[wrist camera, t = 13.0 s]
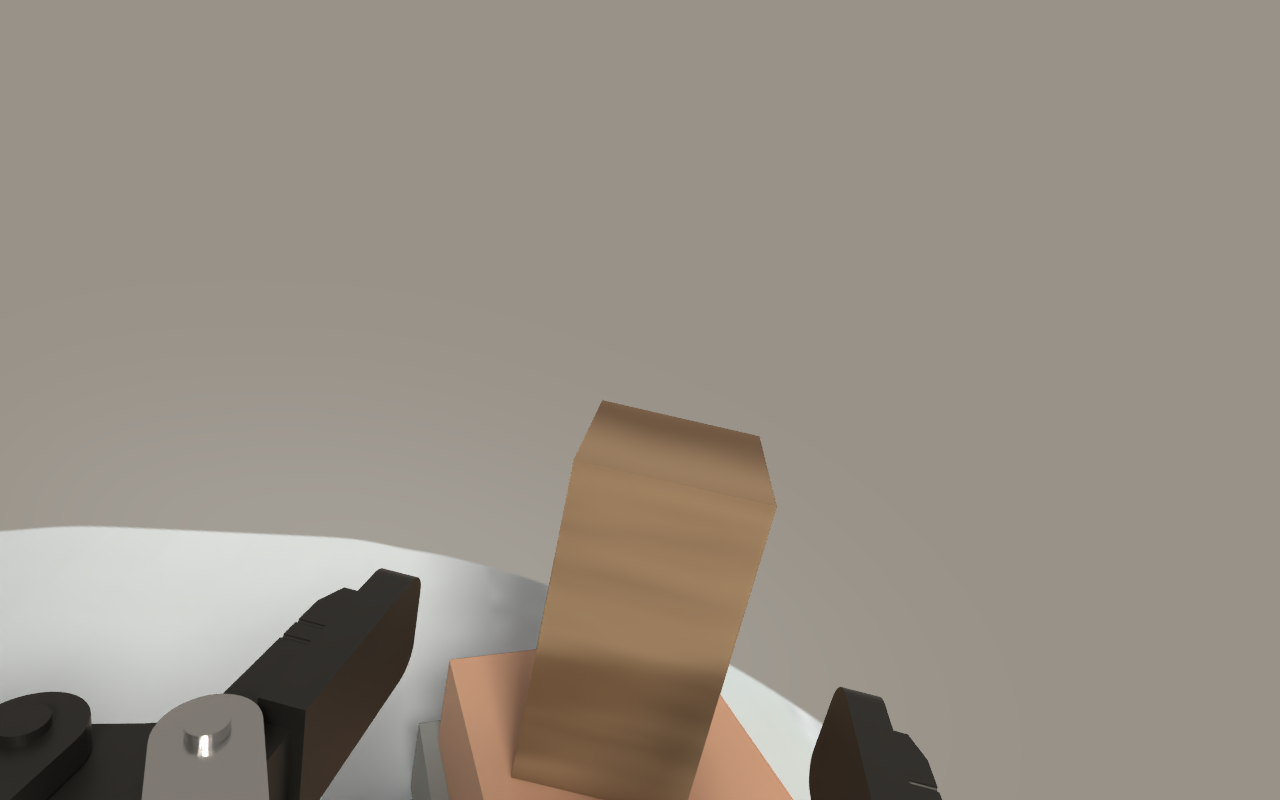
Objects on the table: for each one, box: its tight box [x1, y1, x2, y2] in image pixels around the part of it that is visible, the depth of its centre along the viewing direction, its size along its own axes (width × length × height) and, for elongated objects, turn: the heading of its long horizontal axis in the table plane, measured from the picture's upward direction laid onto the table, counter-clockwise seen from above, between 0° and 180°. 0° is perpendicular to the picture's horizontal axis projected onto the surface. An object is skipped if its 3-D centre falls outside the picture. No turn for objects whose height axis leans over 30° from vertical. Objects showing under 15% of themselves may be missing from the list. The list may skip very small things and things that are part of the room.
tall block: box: [511, 401, 777, 800], centre depth 20 cm, size 5×5×10 cm
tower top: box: [438, 650, 793, 800], centre depth 22 cm, size 9×9×4 cm
